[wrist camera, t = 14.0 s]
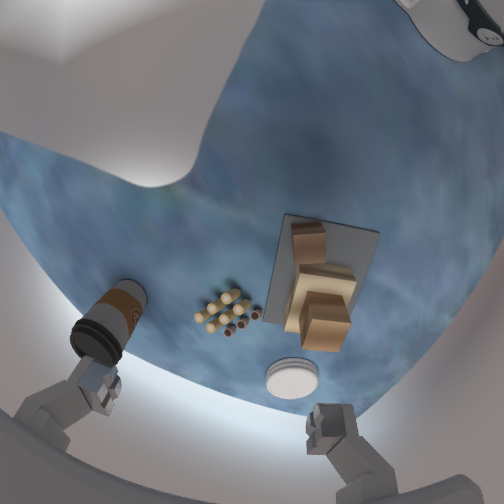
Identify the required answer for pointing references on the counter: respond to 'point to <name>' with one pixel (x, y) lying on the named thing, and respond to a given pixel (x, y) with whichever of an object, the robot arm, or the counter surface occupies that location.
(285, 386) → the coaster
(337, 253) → the mat
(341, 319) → the oak block
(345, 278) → the base block
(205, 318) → the ammunition
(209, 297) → the counter surface
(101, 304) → the coffee cup
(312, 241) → the block
